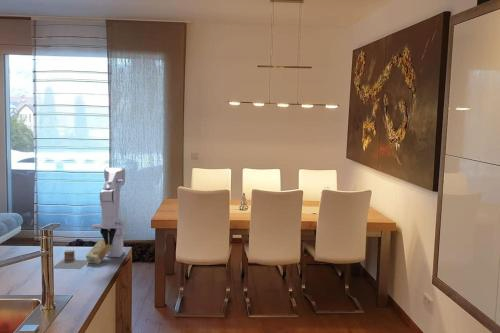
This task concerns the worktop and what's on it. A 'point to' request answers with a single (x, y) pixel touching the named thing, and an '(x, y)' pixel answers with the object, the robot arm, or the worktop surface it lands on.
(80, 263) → the felt mat
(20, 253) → the worktop surface
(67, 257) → the walnut cube
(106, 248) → the skincare box
